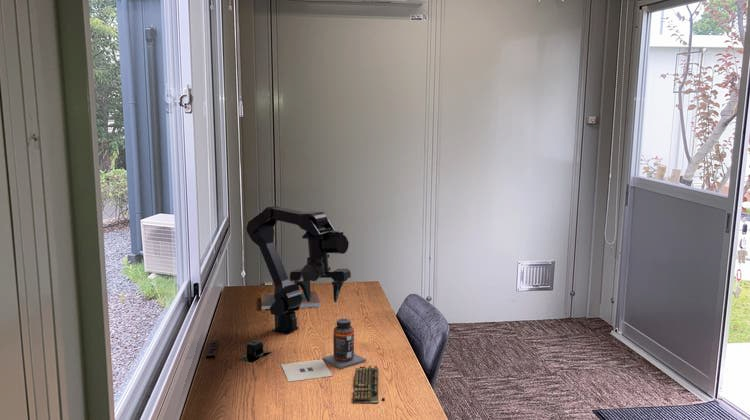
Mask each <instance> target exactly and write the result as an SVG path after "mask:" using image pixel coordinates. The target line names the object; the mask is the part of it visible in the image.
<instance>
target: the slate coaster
mask: <svg viewBox="0 0 750 420" xmlns="http://www.w3.org/2000/svg"><path fill="white" fill-rule="evenodd" d="M322 359H323V361H324V362H326V363H329V364H330V365H332V366H334V367H337V368H338V369H340V370H342V369H345V368H349V367H353V366H355V365H358V364H362V363H365V362H367V359H366V358H365V357H363V356H361V355H359V354H357V353H354V358H353V359H351V360H349V361H338V360H336V359H335V358H334V353H333V354H330V355H327V356H323V357H322Z"/></svg>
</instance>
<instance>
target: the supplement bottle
mask: <svg viewBox="0 0 750 420" xmlns="http://www.w3.org/2000/svg"><path fill="white" fill-rule="evenodd" d="M332 332H333V334H332V335H333V337H332V338H333V354H334V358H335V359H336V360H338V361H349V360H351V359H353V358H354V354H355V330H354V327H353V326H351V319H349V318H339V319H337V320H336V326H335V327H334V328H333V331H332Z"/></svg>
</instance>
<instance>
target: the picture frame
mask: <svg viewBox="0 0 750 420" xmlns="http://www.w3.org/2000/svg"><path fill="white" fill-rule="evenodd" d="M300 291H301V290H300ZM301 292H302V294H301V295H302V302H301V305H300V308H299V309H307V308H309V307H312V308H321V300H320V297H319V294H318V292H317V290H310V292H311V299H310V302H308V301H307V299H306V297H305V295H304V292H303V290H302V291H301ZM260 294H261V295H260V296H261V297H260V298H261V300H260V301H261V311H264V310H263V309H270V307H271V306H272V305H273V303H274V302H275V298H274V292H268V293H260ZM309 309H310V308H309Z"/></svg>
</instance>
